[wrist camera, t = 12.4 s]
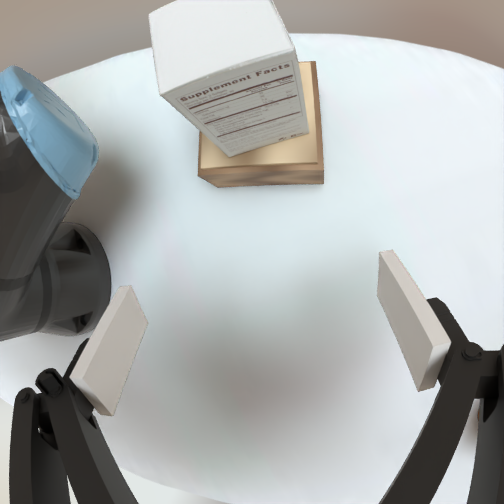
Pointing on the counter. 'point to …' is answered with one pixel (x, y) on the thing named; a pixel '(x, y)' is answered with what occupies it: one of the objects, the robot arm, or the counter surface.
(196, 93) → the supplement box
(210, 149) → the pedestal
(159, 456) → the counter surface
